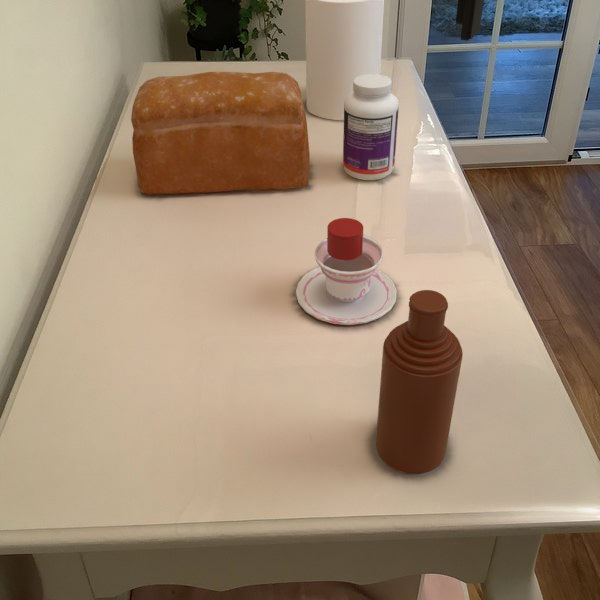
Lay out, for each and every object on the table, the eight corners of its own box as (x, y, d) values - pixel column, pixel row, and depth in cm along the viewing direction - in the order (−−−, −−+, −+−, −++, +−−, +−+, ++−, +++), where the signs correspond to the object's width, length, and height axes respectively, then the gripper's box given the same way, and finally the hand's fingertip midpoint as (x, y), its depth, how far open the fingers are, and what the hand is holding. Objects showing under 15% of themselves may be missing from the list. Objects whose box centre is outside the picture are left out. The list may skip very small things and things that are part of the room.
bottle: (453, 431, 63) (479, 287, 53) (435, 483, 59) (460, 336, 48) (387, 411, 65) (400, 269, 55) (366, 460, 61) (375, 314, 50)
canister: (336, 87, 134) (338, -21, 122) (392, 103, 127) (400, -10, 115) (291, 108, 126) (288, -6, 114) (349, 126, 119) (352, 7, 107)
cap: (368, 247, 77) (370, 223, 75) (352, 264, 74) (353, 240, 73) (337, 237, 79) (338, 214, 77) (320, 254, 76) (320, 230, 74)
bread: (147, 158, 110) (130, 62, 101) (306, 152, 111) (304, 56, 102) (136, 200, 99) (116, 97, 90) (312, 192, 100) (311, 89, 91)
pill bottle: (360, 155, 110) (363, 67, 101) (403, 167, 106) (410, 77, 97) (332, 174, 105) (333, 83, 96) (377, 188, 101) (382, 94, 92)
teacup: (385, 335, 74) (389, 290, 71) (282, 316, 77) (280, 272, 74) (404, 274, 83) (408, 231, 80) (311, 259, 86) (311, 218, 83)
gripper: (761, -266, 38) (666, 42, 49) (462, -255, 44) (435, 17, 55) (770, -272, 33) (661, 75, 43) (428, -258, 39) (405, 44, 49)
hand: (535, 43), depth 49 cm, fingers open, 9 cm apart
